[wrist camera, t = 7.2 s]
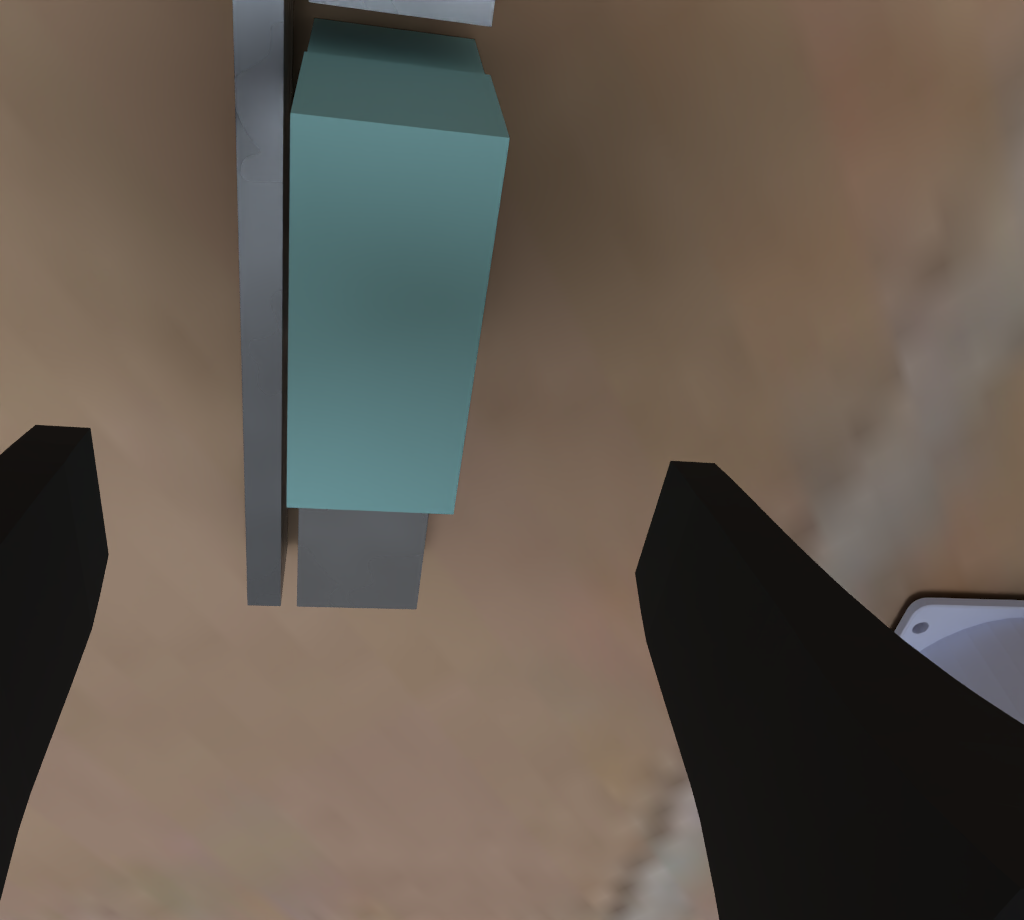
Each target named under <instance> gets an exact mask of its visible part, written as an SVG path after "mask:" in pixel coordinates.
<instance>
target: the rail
mask: <svg viewBox="0 0 1024 920" xmlns="http://www.w3.org/2000/svg"><path fill="white" fill-rule="evenodd" d="M309 2H312V3H319V4H327V5H334V6H341V7H349V8H356V9H363V10H371V11H378V12H386V13H393V14H400V15H408V16H415V17H422V18H430V19H437V20H445V21H452V22H459V23H467V24H474V25H482V26H489V27H492V19H493V11H494V4H495V0H309ZM233 32H234V73H235V113H236V153H237V194H238V234H239V275H240V315H241V356H242V396H243V437H244V477H245V518H246V558H247V599H248V605H261V606H281V598H282V589H283V580H284V571H285V562H286V553H287V532H288V507H287V409H288V306H289V203H290V112H291V108H292V68H293V0H233ZM428 515H429V513H408V512H384V511H361V510H337V509H314V508H299V529H298V579H297V606H303V607H344V608H386V609H416V608H417V600H418V593H419V585H420V577H421V569H422V562H423V554H424V546H425V538H426V531H427V523H428Z"/></svg>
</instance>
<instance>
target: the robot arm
mask: <svg viewBox="0 0 1024 920" xmlns="http://www.w3.org/2000/svg"><path fill="white" fill-rule="evenodd" d="M108 555H109V554H108V547H107V540H106V533H105V526H104V519H103V512H102V506H101V499H100V492H99V485H98V478H97V471H96V464H95V457H94V450H93V443H92V436H91V429H90V428H80V427H62V426H45V425H35V426H34V427H33V428H31V429H30V430H29V431H28V432H26V433H25V434H24V435H23V436H22V437H20V438H19V439H18V440H17V441H16V442H14V443H13V444H12V445H11V446H10V447H9V448H7V449H6V450H5V451H4V452H3V453H2V454H1V455H0V899H1V896H2V892H3V888H4V884H5V880H6V876H7V872H8V869H9V865H10V861H11V857H12V853H13V849H14V846H15V842H16V838H17V834H18V830H19V827H20V824H21V821H22V818H23V815H24V812H25V809H26V806H27V803H28V800H29V796H30V793H31V791H32V788H33V785H34V783H35V780H36V777H37V775H38V772H39V769H40V767H41V764H42V761H43V759H44V756H45V753H46V751H47V748H48V746H49V743H50V740H51V738H52V735H53V732H54V730H55V727H56V724H57V722H58V719H59V716H60V714H61V711H62V708H63V706H64V703H65V700H66V698H67V695H68V693H69V690H70V687H71V685H72V682H73V679H74V676H75V674H76V671H77V668H78V666H79V663H80V660H81V657H82V655H83V652H84V649H85V647H86V644H87V641H88V638H89V635H90V633H91V630H92V626H93V622H94V618H95V614H96V610H97V605H98V601H99V597H100V593H101V588H102V583H103V579H104V574H105V569H106V565H107V560H108ZM635 575H636V582H637V589H638V595H639V602H640V609H641V614H642V620H643V626H644V631H645V637H646V642H647V645H648V648H649V652H650V655H651V659H652V662H653V665H654V669H655V672H656V675H657V678H658V682H659V685H660V688H661V692H662V695H663V698H664V701H665V704H666V708H667V711H668V714H669V717H670V720H671V724H672V727H673V730H674V733H675V736H676V740H677V743H678V746H679V749H680V752H681V756H682V759H683V762H684V765H685V768H686V772H687V775H688V778H689V781H690V784H691V788H692V791H693V795H694V799H695V803H696V807H697V810H698V814H699V818H700V822H701V827H702V832H703V837H704V842H705V847H706V852H707V857H708V862H709V867H710V872H711V877H712V882H713V887H714V892H715V898H716V903H717V909H718V915H719V920H1024V600H996V599H962V598H921V599H918V600H916V601H914V602H913V603H911V605H910V606H909V607H908V608H907V610H906V612H905V614H904V615H903V617H902V619H901V621H900V622H899V624H898V626H897V628H896V629H895V631H894V632H893V631H892V630H891V629H890V628H888V627H887V626H886V625H885V624H884V623H882V622H881V621H880V620H879V619H878V618H877V617H875V616H874V615H873V614H872V613H871V612H870V611H869V610H867V609H866V608H865V607H864V606H863V605H862V604H860V603H859V602H858V601H857V600H856V599H855V598H854V597H852V596H851V595H850V594H849V593H848V592H847V591H846V590H845V589H843V588H842V587H841V586H840V585H839V584H838V583H837V582H836V581H835V580H834V579H833V578H831V577H830V576H829V575H828V574H827V573H826V572H825V571H824V570H823V569H822V568H821V567H820V566H819V565H818V564H817V563H815V562H814V561H813V560H812V559H811V558H810V557H809V556H808V555H807V554H806V553H805V552H804V551H803V550H802V549H801V548H800V547H799V546H798V545H797V544H796V543H795V542H794V541H793V540H792V539H791V538H790V537H789V536H788V535H787V534H786V533H785V532H784V531H783V530H782V529H781V528H780V527H779V526H778V525H777V524H776V523H775V522H774V521H773V520H772V519H771V518H770V517H769V516H768V515H767V514H766V513H765V512H764V511H763V510H762V509H761V508H760V507H759V506H758V505H757V504H756V503H755V502H754V501H753V500H752V499H751V498H750V497H749V496H748V495H747V494H746V493H745V492H744V491H743V490H742V489H741V488H740V487H739V486H738V485H737V484H736V483H735V482H734V481H733V480H732V479H731V478H730V477H729V476H728V475H727V474H726V473H725V472H724V471H722V470H721V469H720V468H719V467H718V466H717V465H716V464H715V463H700V462H682V461H670V465H669V468H668V471H667V474H666V477H665V480H664V484H663V487H662V490H661V493H660V496H659V499H658V503H657V506H656V509H655V512H654V515H653V518H652V521H651V525H650V528H649V531H648V534H647V537H646V540H645V544H644V547H643V550H642V553H641V556H640V559H639V563H638V566H637V569H636V572H635Z"/></svg>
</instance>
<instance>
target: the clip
mask: <svg viewBox="0 0 1024 920" xmlns="http://www.w3.org/2000/svg"><path fill="white" fill-rule="evenodd" d="M509 139H510V137H509V134H508V131H507V128H506V124H505V121H504V118H503V115H502V111H501V108H500V105H499V102H498V98H497V95H496V92H495V89H494V85H493V82H492V79H491V76H490V75H487V74H485V73H484V70H483V66H482V63H481V59H480V56H479V53H478V49H477V46H476V42H475V39H468V38H461V37H453V36H446V35H438V34H431V33H423V32H416V31H408V30H400V29H393V28H385V27H378V26H370V25H363V24H355V23H348V22H340V21H333V20H325V19H318V18H314V22H313V27H312V31H311V36H310V41H309V45H308V50H307V52H305V51H304V56H303V60H302V64H301V69H300V73H299V77H298V82H297V86H296V91H295V95H294V99H293V104H292V108H291V112H290V203H289V306H288V409H287V507H290V508H314V509H337V510H361V511H384V512H408V513H432V514H453V513H454V507H455V500H456V493H457V487H458V480H459V473H460V467H461V460H462V453H463V447H464V440H465V433H466V427H467V420H468V413H469V406H470V400H471V393H472V386H473V380H474V373H475V366H476V360H477V353H478V346H479V340H480V333H481V326H482V320H483V313H484V306H485V300H486V293H487V286H488V280H489V273H490V266H491V260H492V253H493V246H494V240H495V233H496V226H497V220H498V213H499V206H500V199H501V193H502V186H503V179H504V173H505V166H506V159H507V153H508V146H509Z"/></svg>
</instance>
